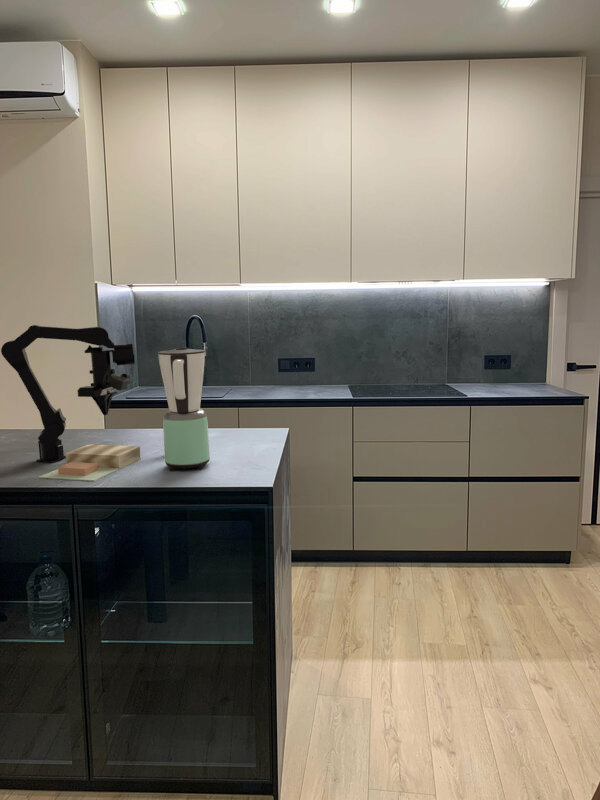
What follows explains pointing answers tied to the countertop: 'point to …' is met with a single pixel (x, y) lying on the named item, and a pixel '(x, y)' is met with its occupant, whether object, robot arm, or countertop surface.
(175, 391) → the mint green blender
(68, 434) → the countertop surface
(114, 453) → the tan wooden flat block
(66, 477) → the mat
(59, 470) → the tile
